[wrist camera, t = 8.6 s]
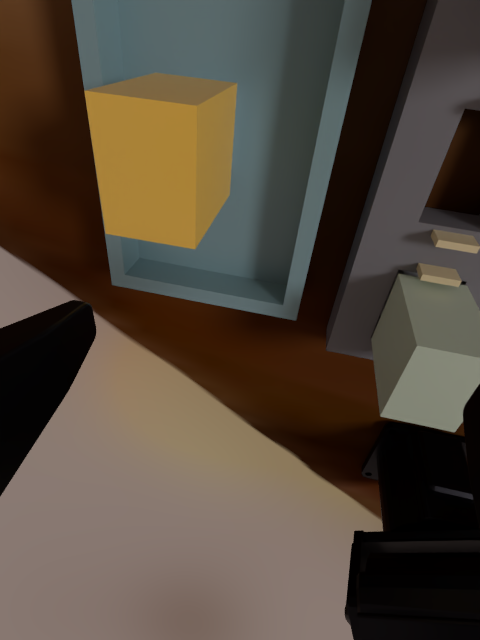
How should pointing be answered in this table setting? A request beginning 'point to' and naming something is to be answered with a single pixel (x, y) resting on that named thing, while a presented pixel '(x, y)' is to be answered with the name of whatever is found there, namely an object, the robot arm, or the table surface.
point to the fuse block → (415, 182)
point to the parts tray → (238, 133)
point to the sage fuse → (426, 352)
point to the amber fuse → (162, 155)
